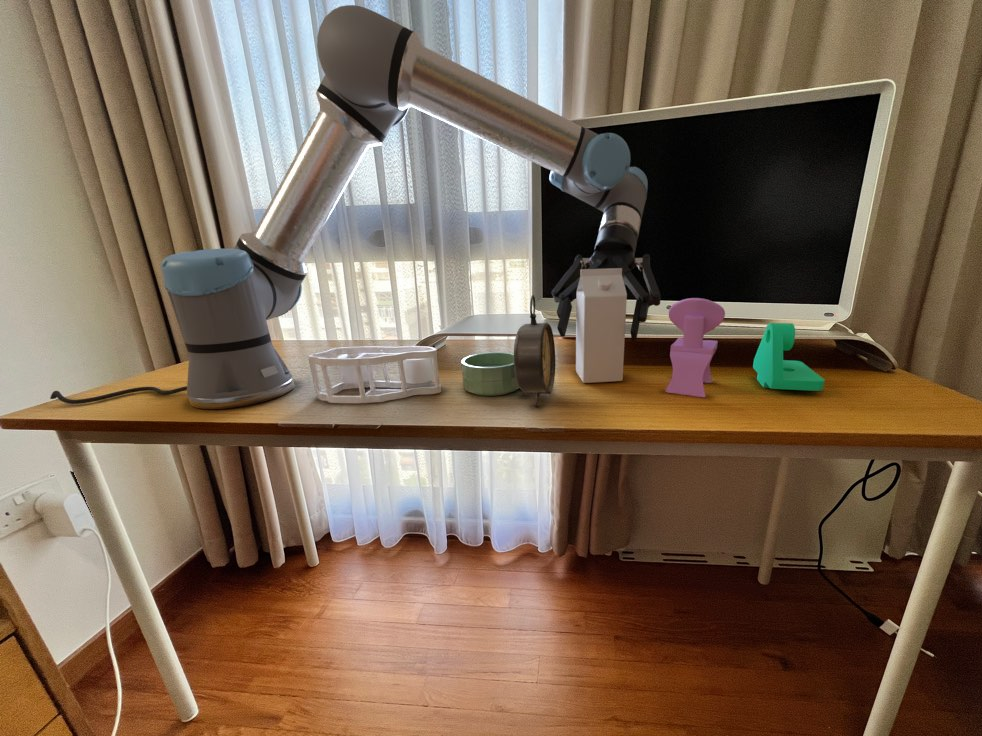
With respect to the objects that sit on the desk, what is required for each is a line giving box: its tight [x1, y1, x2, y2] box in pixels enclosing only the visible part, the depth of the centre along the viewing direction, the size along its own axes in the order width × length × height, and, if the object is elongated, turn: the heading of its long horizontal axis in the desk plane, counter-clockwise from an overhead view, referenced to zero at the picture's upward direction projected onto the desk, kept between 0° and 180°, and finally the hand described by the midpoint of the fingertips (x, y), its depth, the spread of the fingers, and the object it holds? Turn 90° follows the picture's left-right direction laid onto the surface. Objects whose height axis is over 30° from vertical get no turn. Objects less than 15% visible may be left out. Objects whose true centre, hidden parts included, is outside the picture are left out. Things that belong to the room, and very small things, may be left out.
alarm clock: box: [513, 294, 556, 408], centre depth 66 cm, size 11×5×16 cm, turn 168°
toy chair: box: [665, 297, 726, 398], centre depth 70 cm, size 8×9×15 cm
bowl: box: [460, 351, 520, 397], centre depth 74 cm, size 10×10×5 cm
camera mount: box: [752, 322, 826, 392], centre depth 71 cm, size 12×8×10 cm, turn 168°
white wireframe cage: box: [308, 345, 442, 404], centre depth 72 cm, size 20×11×7 cm, turn 85°
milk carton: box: [575, 268, 628, 384], centre depth 75 cm, size 7×7×19 cm
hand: (596, 334), depth 73 cm, fingers open, 12 cm apart
